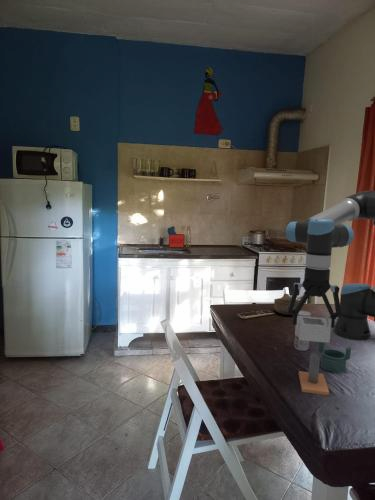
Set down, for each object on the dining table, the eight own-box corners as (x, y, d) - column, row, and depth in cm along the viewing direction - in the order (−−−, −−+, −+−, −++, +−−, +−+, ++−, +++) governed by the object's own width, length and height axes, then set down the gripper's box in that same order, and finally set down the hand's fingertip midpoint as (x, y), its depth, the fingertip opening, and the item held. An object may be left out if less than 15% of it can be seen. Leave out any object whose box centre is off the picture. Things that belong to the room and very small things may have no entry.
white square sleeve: (329, 342, 110) (330, 327, 109) (299, 339, 112) (300, 324, 111) (323, 332, 119) (325, 318, 118) (296, 330, 120) (297, 315, 120)
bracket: (315, 361, 132) (317, 339, 131) (339, 361, 133) (341, 339, 131) (326, 373, 123) (328, 349, 122) (352, 373, 124) (354, 349, 122)
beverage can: (310, 347, 145) (312, 312, 143) (307, 352, 140) (309, 315, 138) (296, 344, 148) (298, 309, 146) (292, 349, 143) (294, 313, 141)
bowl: (266, 304, 199) (272, 288, 198) (290, 312, 199) (296, 295, 198) (273, 314, 181) (280, 296, 180) (299, 322, 182) (306, 304, 180)
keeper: (323, 376, 121) (325, 347, 119) (328, 395, 109) (331, 363, 108) (298, 373, 122) (300, 345, 121) (301, 391, 111) (304, 360, 109)
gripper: (350, 267, 114) (344, 334, 117) (281, 263, 118) (277, 328, 121) (357, 271, 106) (350, 343, 109) (283, 267, 110) (278, 336, 113)
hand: (312, 335), depth 115 cm, fingers closed on white square sleeve, 9 cm apart
